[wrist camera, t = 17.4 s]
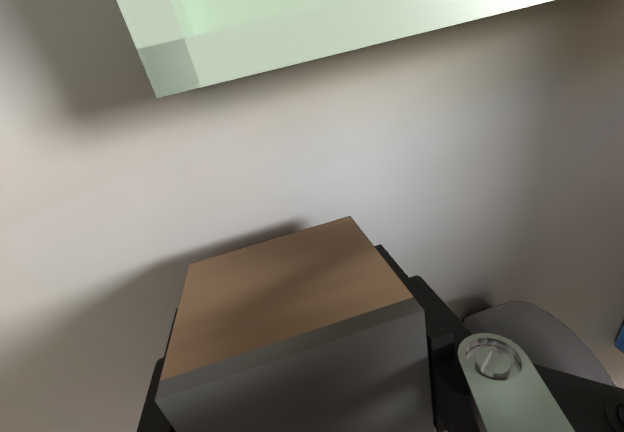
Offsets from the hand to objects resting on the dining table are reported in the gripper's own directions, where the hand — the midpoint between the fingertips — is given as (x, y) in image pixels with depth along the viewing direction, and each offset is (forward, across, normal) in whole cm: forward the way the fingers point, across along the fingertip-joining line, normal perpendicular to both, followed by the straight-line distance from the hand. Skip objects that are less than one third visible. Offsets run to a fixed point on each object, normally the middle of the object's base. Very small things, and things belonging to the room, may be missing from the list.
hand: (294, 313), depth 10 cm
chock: (+1, 0, 0) cm, 1 cm away
